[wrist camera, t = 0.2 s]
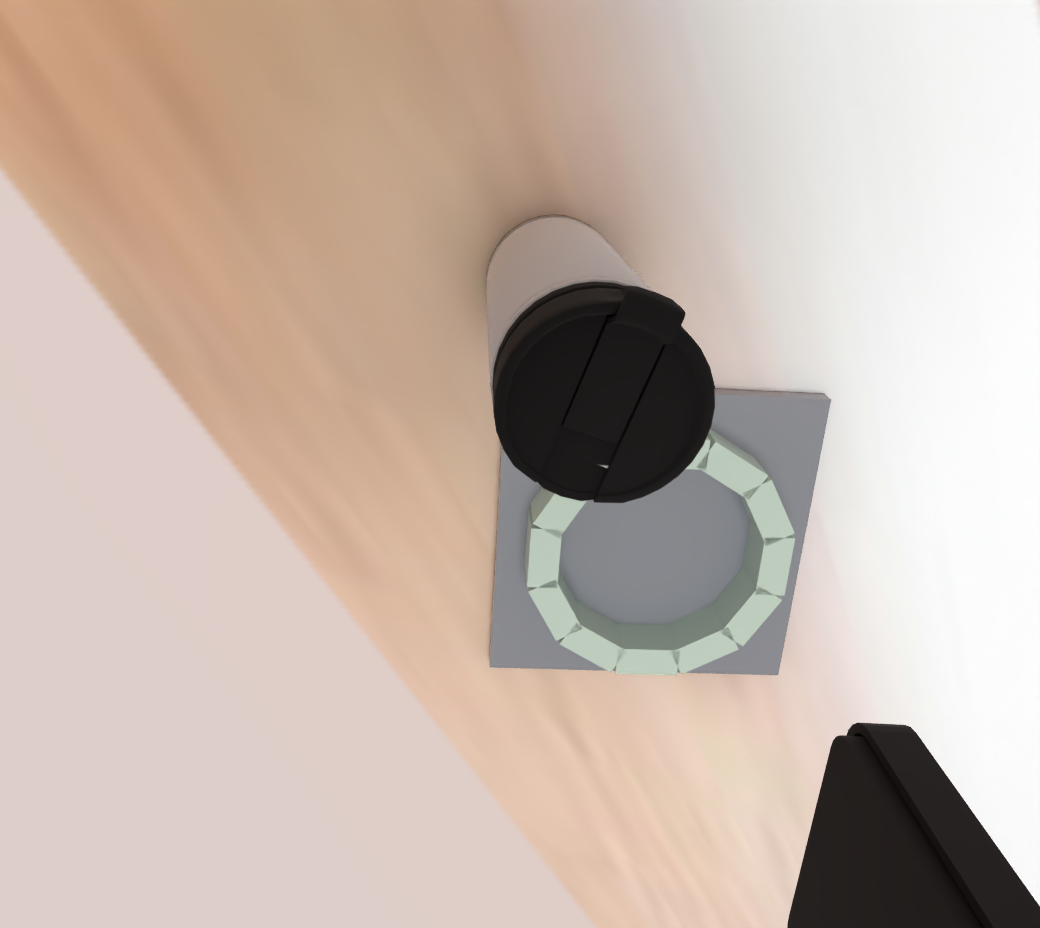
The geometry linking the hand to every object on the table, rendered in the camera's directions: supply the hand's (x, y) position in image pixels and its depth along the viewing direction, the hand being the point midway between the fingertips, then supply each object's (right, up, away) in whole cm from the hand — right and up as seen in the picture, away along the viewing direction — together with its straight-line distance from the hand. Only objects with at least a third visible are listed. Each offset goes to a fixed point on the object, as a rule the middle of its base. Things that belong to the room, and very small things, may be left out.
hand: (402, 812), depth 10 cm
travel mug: (+3, +13, +34) cm, 36 cm away
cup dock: (+8, 0, +39) cm, 40 cm away
